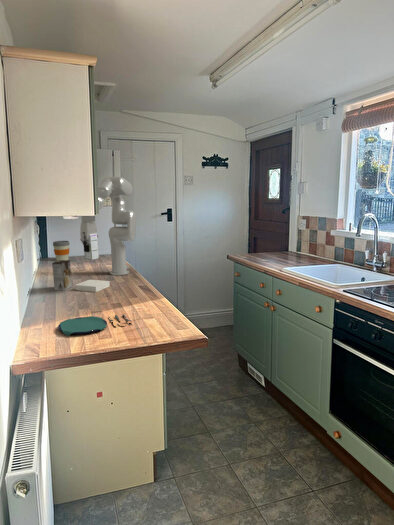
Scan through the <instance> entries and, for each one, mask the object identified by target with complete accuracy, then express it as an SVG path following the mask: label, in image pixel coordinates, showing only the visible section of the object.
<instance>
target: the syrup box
mask: <svg viewBox="0 0 394 525" xmlns="http://www.w3.org/2000/svg"><path fill="white" fill-rule="evenodd" d="M97 235H98V233H97V234H96V233H93V234H90V235H89V240H88V245H89V252H84V251H83V253H84V259H85V260H97V259H99V244H98V243H99V242H98V238H97ZM86 242H87V241H86Z"/></svg>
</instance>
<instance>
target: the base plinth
mask: <svg viewBox="0 0 394 525" xmlns="http://www.w3.org/2000/svg"><path fill="white" fill-rule="evenodd" d="M106 288H110V281H109V280H100V279H99V280H97V279H87V280H84V281H82V282H79V283H77V284H75V285H74V290H75V291H79V292H82V291H83V292H93V293H97V292H99V291H102V290H104V289H106Z"/></svg>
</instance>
